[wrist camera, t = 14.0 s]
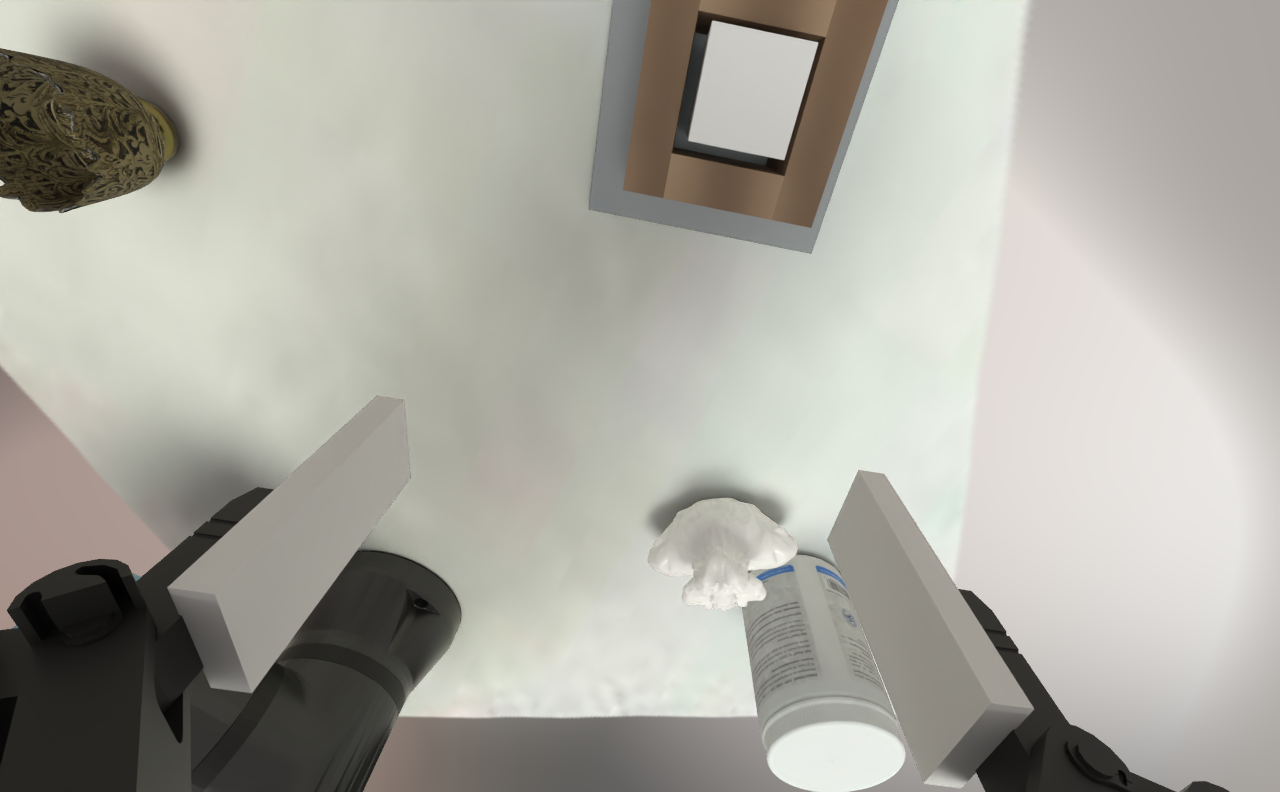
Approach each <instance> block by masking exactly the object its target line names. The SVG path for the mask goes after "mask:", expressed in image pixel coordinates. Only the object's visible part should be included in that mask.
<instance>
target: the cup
mask: <svg viewBox="0 0 1280 792" xmlns="http://www.w3.org/2000/svg"><path fill="white" fill-rule="evenodd" d="M177 149H178V136H177V133H176V130H175V128H174V126H173V124H172V122H171V121H170V119H169V118H168V117H167V116H166V114H165V113H164V112H163V111H161V110H160V109H159V108H158V107H156V106H155V105H153V104H152V103H150V102H148V101H146V100H144V99H141V98H139V97H136V96H134V95H133V94H132V93H131V92H130V91H128V90H127V89H125V88H124V87H123V86H121V85H120V84H118V83H117V82H115V81H114V80H112V79H110V78H108V77H106V76H104V75H102V74H100V73H97V72H95V71H92V70H90V69H87V68H84V67H81V66H77V65H74V64H70V63H67V62H63V61H59V60H54V59H50V58H45V57H40V56H36V55H31V54H26V53H21V52H16V51H11V50H6V49H1V48H0V180H2V181H3V182H4V183H5V184H4V185H3V186H0V197H3V198H7V199H17V200H19V199H20V202H21V204H22V205H23V206H24V207H25V208H26V209H28V210H29V211H33V212H52V211H59V213H64V212H67V211H70V210H72V209H76V208H79V207H83V206H86V205H90V204H94V203H97V202H101V201H105V200H108V199H112V198H115V197H119V196H122V195H125V194H128V193H131V192H133V191H136V190H138V189H141V188H143V187H144V186H146V185H148V184H149V183H151V182H152V181H153V180H154V179H155V178H156V177H157V176H158V175H159V173H160V172H161V170H162V168H163V165H164V162H166V161H168V160H169V159H171V158H172V157H173V156H174V155H175V153H176V151H177Z"/></svg>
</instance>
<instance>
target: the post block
mask: <svg viewBox="0 0 1280 792" xmlns="http://www.w3.org/2000/svg"><path fill="white" fill-rule="evenodd" d="M898 1H899V0H888V3H887V6H886V9H885V12H884V15H883V17H882V20H881V23H880V26H879V29H878V32H877V35H876V38H875V41H874V44H873V47H872V50H871V53H870V56H869V59H868V62H867V65H866V68H865V71H864V74H863V77H862V80H861V83H860V86H859V88H858V91H857V94H856V97H855V100H854V103H853V106H852V109H851V112H850V115H849V118H848V121H847V124H846V127H845V130H844V133H843V136H842V139H841V142H840V145H839V148H838V151H837V154H836V157H835V160H834V162H833V165H832V168H831V171H830V174H829V177H828V180H827V183H826V186H825V189H824V192H823V195H822V198H821V201H820V204H819V207H818V210H817V213H816V216H815V219H814V222H813V225H812V228H809V227H804V226H799V225H794V224H789V223H784V222H779V221H774V220H769V219H764V218H759V217H754V216H749V215H744V214H739V213H734V212H729V211H724V210H719V209H714V208H709V207H704V206H699V205H694V204H689V203H684V202H679V201H674V200H669V199H664V198H659V197H654V196H649V195H644V194H639V193H635V192H630V191H625V190H623V186H624V179H625V172H626V166H627V159H628V152H629V146H630V139H631V132H632V126H633V119H634V112H635V105H636V99H637V92H638V85H639V79H640V72H641V65H642V58H643V52H644V45H645V38H646V32H647V25H648V18H649V12H650V5H651V0H613V7H612V16H611V24H610V33H609V41H608V50H607V58H606V67H605V75H604V83H603V92H602V100H601V109H600V117H599V126H598V134H597V143H596V151H595V159H594V168H593V176H592V185H591V193H590V202H589V210H594V211H599V212H604V213H609V214H614V215H619V216H624V217H629V218H634V219H639V220H645V221H650V222H655V223H660V224H665V225H670V226H675V227H680V228H685V229H690V230H695V231H700V232H705V233H710V234H715V235H720V236H725V237H730V238H735V239H740V240H745V241H750V242H755V243H760V244H765V245H770V246H775V247H780V248H785V249H790V250H795V251H800V252H805V253H810V254H811V253H812V250H813V247H814V244H815V241H816V238H817V236H818V233H819V230H820V227H821V224H822V221H823V218H824V215H825V212H826V210H827V207H828V204H829V201H830V198H831V195H832V192H833V189H834V186H835V183H836V181H837V178H838V175H839V172H840V169H841V166H842V163H843V160H844V157H845V155H846V152H847V149H848V146H849V143H850V140H851V137H852V134H853V131H854V129H855V126H856V123H857V120H858V117H859V114H860V111H861V108H862V105H863V102H864V100H865V97H866V94H867V91H868V88H869V85H870V82H871V79H872V76H873V74H874V71H875V68H876V65H877V62H878V59H879V56H880V53H881V50H882V47H883V45H884V42H885V39H886V36H887V33H888V30H889V27H890V24H891V21H892V19H893V16H894V13H895V10H896V7H897V4H898ZM817 46H818V42H813V41H809V40H804V39H799V38H794V37H789V36H785V35H780V34H775V33H770V32H765V31H761V30H756V29H751V28H746V27H741V26H737V25H732V24H727V23H722V22H717V21H712V24H711V27H710V30H709V33H708V35H705V34H700V33H695V36H694V42H693V47H692V52H691V57H690V63H689V68H688V73H687V79H686V84H685V89H684V94H683V100H682V105H681V110H680V116H679V121H678V126H677V131H676V137H675V142H674V147H676V148H681V149H686V150H691V151H695V152H700V153H705V154H710V155H715V156H720V157H725V158H730V159H735V160H740V161H745V162H750V163H754V164H759V165H764V166H766V163H767V159H768V157H770V158H775V159H780V160H784V159H785V156H786V153H787V149H788V146H789V142H790V139H791V135H792V132H793V129H794V125H795V122H796V118H797V115H798V111H799V108H800V105H801V101H802V98H803V94H804V91H805V87H806V84H807V81H808V77H809V74H810V70H811V67H812V63H813V60H814V56H815V53H816V50H817Z"/></svg>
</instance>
